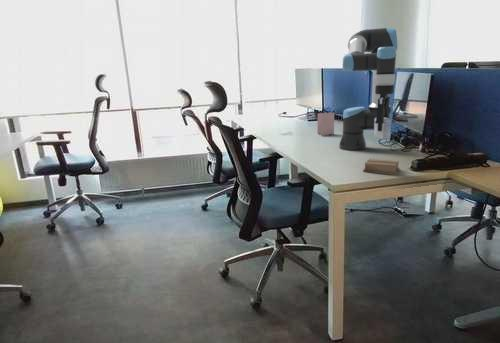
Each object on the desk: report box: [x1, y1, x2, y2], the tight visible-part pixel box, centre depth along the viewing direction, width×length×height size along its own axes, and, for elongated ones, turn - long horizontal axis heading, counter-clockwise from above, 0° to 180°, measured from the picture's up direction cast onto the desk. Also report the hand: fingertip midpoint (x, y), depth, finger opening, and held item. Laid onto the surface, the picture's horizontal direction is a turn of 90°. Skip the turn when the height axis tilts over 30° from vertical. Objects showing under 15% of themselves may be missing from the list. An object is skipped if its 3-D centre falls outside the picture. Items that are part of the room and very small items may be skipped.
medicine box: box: [373, 117, 392, 140], centre depth 165 cm, size 8×4×9 cm, turn 4°
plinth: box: [362, 158, 400, 176], centre depth 170 cm, size 10×14×4 cm
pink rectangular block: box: [316, 112, 335, 137], centre depth 259 cm, size 11×7×15 cm, turn 84°
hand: (381, 136), depth 166 cm, fingers closed on medicine box, 9 cm apart
